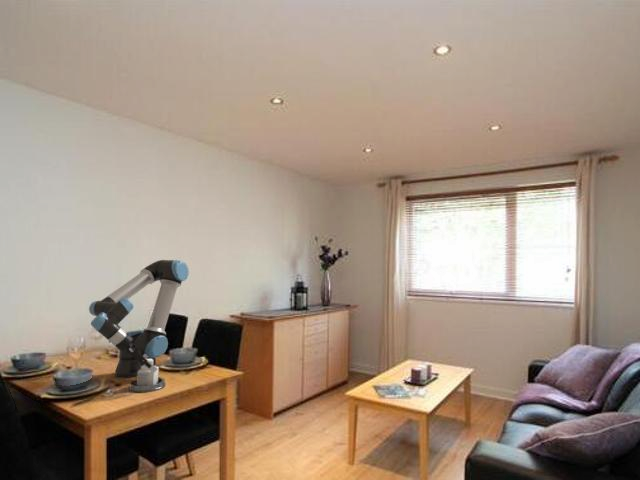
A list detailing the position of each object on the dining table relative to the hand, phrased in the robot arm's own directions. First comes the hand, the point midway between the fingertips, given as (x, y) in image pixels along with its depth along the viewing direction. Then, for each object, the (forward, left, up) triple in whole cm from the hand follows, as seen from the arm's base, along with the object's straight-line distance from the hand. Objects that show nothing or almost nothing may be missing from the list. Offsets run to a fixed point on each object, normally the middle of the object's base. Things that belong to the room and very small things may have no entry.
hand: (153, 367), depth 192 cm
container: (-2, -1, -8) cm, 8 cm away
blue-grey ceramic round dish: (-2, -2, -9) cm, 9 cm away
